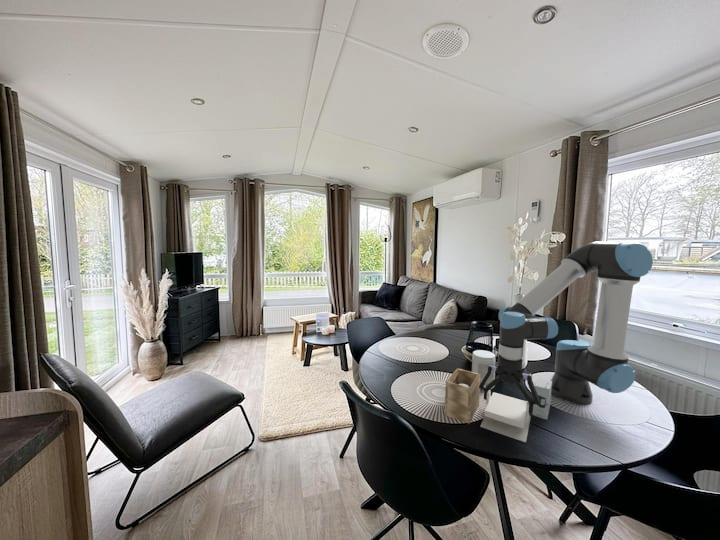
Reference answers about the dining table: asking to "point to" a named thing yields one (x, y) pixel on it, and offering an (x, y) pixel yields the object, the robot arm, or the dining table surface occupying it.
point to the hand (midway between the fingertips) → (506, 414)
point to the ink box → (543, 398)
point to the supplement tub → (483, 364)
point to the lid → (506, 410)
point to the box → (462, 395)
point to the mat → (506, 428)
